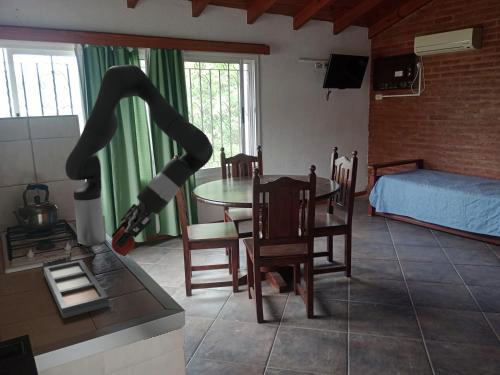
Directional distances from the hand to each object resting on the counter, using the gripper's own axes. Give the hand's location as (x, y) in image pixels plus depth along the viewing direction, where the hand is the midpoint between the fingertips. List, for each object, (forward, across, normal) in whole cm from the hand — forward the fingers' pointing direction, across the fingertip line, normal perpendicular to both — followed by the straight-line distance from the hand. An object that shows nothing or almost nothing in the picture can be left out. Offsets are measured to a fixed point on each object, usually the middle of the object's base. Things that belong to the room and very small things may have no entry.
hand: (116, 241), depth 107 cm
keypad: (+19, -10, +3) cm, 21 cm away
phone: (+22, -35, +1) cm, 41 cm away
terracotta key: (+17, 0, +3) cm, 17 cm away
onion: (+2, 0, +4) cm, 5 cm away
